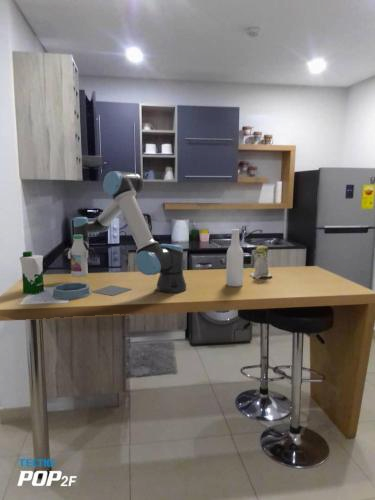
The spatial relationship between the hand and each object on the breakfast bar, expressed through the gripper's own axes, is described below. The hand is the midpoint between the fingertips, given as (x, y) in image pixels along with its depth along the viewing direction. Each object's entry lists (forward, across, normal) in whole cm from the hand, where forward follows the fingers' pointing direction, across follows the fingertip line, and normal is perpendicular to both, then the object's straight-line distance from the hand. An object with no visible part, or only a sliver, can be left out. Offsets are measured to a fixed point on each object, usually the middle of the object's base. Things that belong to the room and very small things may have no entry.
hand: (78, 255), depth 169 cm
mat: (-5, -15, -19) cm, 25 cm away
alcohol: (-3, -80, -19) cm, 82 cm away
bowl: (-3, +4, -19) cm, 20 cm away
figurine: (-18, -102, -19) cm, 105 cm away
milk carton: (-11, +22, -20) cm, 32 cm away
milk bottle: (-5, 0, -11) cm, 12 cm away
